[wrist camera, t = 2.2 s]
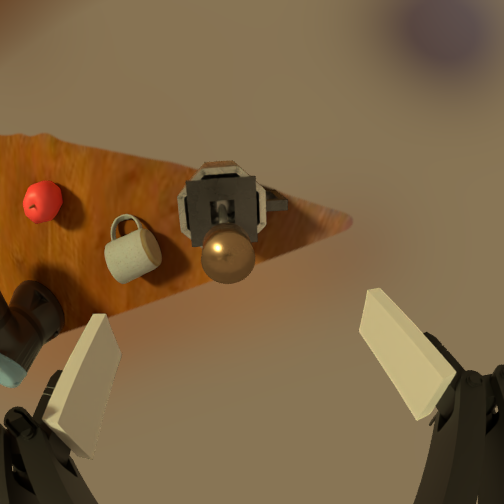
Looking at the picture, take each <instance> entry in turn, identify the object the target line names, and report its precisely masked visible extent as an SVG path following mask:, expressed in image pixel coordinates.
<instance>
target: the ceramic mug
mask: <svg viewBox="0 0 504 504" xmlns="http://www.w3.org/2000/svg"><path fill="white" fill-rule="evenodd" d="M130 218H132V219H133V220H135V222H136V224H137V226H138V230H136V231H134V232H132V233H130V234H128V235H125V236H123V237H121V238H118V239H116V227H117V224H118V223H119V222H120V221H123V220H126V219H128V220H129V219H130ZM111 240H112V241H111V242H109V243H108V244H107V245H106V246H105V259H106V263H107V266H108V268H109V270H110V272H111V274H112V275H113V277H114V278H115V279H116V280H117V281H118V282H120V283H122V284H125V283H128V282H130V281H131V280H133V279H136V278H138V277H140V276H142V275H143V274H145V273H148V272H150V271H152V270H154V269H155V268H157V267H158V266H159V265H160V264H161V261H162V255H161V251H160V247H159V245H158V243H157V241H156V239H155V237H154V236H153V234H152V233H151V232H150V231H149V230H147V229H143V228H142V224H141V223H140V221H139V220H138V219H137V218H136V217H135V216H133V215H129V214H124V215H121V216H119V217H117V218H116V219H115V220H114V222H113V224H112V227H111Z"/></svg>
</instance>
